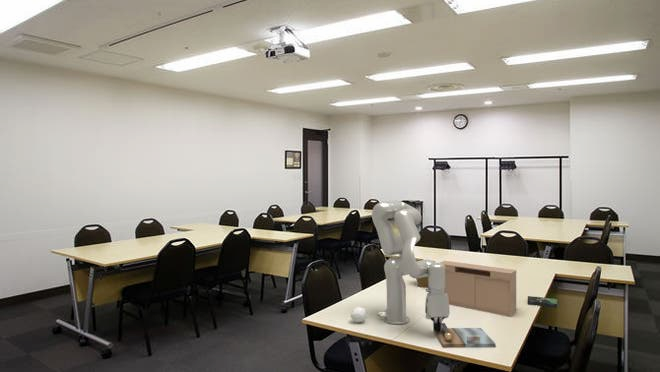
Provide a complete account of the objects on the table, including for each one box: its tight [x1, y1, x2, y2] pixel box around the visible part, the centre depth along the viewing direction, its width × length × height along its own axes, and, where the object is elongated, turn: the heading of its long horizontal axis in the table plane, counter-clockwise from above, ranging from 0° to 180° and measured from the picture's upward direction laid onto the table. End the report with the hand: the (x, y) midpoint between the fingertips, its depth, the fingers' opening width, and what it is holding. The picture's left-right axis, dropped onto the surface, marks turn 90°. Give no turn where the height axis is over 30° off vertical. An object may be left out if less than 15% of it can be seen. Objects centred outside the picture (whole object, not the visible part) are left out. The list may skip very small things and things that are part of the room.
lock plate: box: [432, 327, 496, 348], centre depth 184 cm, size 22×18×4 cm
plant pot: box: [415, 259, 436, 289], centre depth 271 cm, size 15×15×16 cm
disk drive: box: [527, 295, 559, 309], centre depth 232 cm, size 10×3×15 cm
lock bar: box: [440, 322, 452, 342], centre depth 184 cm, size 14×3×3 cm, turn 176°
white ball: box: [350, 306, 368, 324], centre depth 207 cm, size 8×8×8 cm
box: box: [439, 260, 517, 318], centre depth 227 cm, size 10×40×22 cm, turn 50°
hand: (437, 330), depth 188 cm, fingers closed
